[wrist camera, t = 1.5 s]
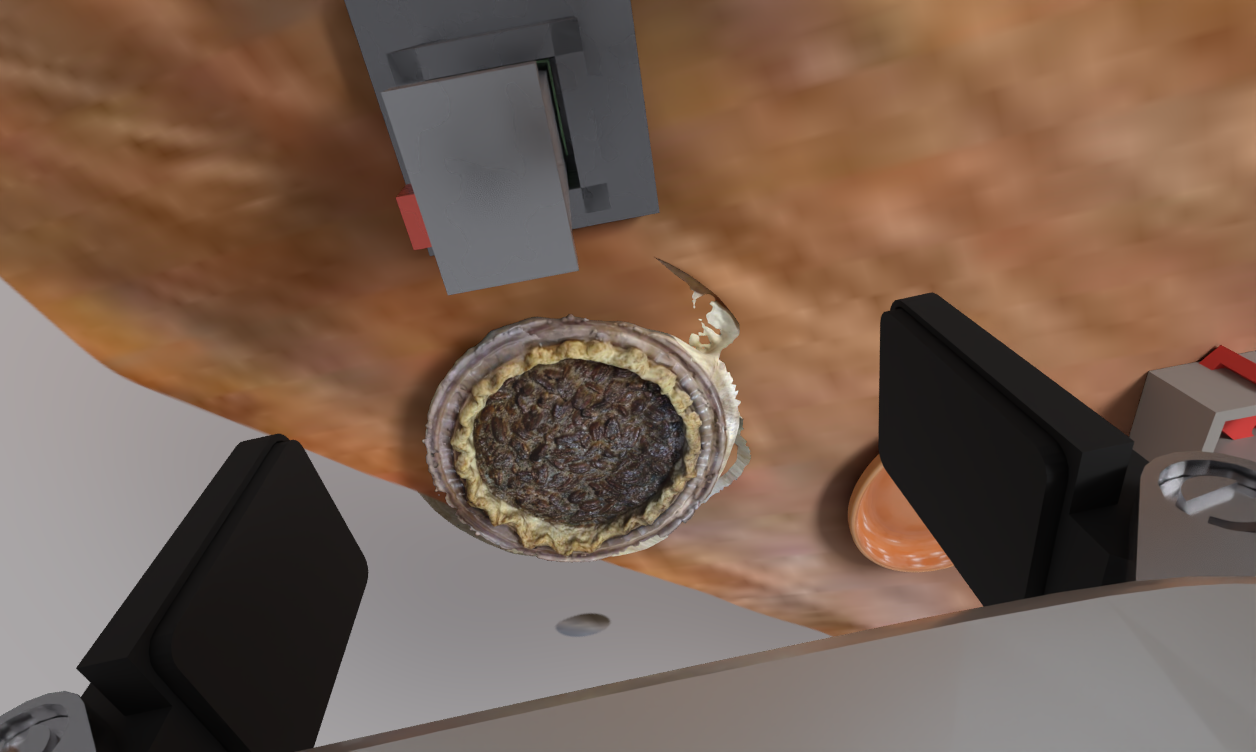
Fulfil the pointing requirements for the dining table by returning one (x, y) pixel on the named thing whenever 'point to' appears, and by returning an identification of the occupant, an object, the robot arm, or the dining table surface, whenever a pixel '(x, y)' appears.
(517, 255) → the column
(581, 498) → the pie
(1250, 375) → the bracket
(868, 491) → the saucer
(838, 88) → the dining table surface
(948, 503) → the robot arm
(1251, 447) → the bracket rest
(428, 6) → the stand
